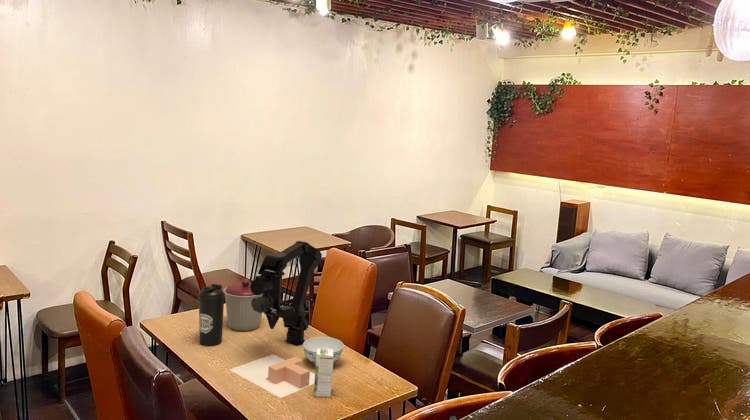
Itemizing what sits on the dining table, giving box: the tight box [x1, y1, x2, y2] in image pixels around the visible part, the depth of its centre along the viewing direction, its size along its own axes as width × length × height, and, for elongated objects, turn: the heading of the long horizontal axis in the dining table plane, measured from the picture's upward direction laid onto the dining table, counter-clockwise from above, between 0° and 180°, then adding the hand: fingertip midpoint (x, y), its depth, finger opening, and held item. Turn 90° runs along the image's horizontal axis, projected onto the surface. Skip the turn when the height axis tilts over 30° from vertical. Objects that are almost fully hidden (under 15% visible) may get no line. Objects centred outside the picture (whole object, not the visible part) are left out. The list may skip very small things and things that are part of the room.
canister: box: [222, 278, 263, 332], centre depth 241 cm, size 18×18×21 cm
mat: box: [229, 353, 315, 399], centre depth 199 cm, size 20×28×1 cm
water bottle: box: [197, 283, 226, 347], centre depth 222 cm, size 10×10×23 cm
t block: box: [268, 356, 311, 390], centre depth 194 cm, size 12×12×5 cm
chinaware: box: [302, 336, 345, 366], centre depth 210 cm, size 15×15×8 cm
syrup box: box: [313, 349, 334, 398], centre depth 187 cm, size 6×6×14 cm
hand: (271, 328), depth 213 cm, fingers closed
